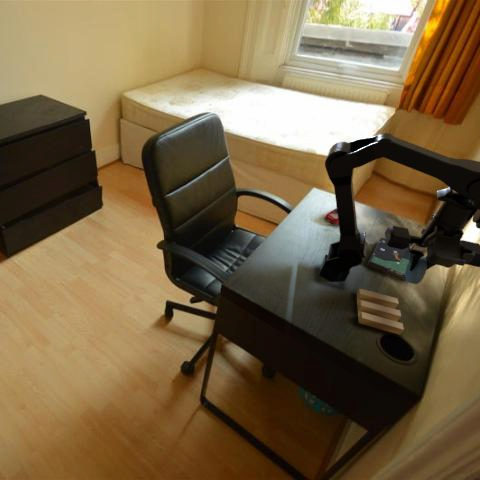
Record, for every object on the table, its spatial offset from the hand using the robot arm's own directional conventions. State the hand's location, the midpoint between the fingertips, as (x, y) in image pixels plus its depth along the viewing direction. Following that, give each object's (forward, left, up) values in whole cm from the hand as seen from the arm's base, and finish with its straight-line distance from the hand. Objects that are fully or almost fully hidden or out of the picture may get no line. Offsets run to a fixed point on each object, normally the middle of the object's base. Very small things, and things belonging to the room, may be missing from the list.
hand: (414, 270), depth 83 cm
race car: (-13, +35, -11) cm, 39 cm away
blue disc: (0, 0, -3) cm, 3 cm away
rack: (-5, -8, -11) cm, 14 cm away
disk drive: (+1, +16, -11) cm, 19 cm away
